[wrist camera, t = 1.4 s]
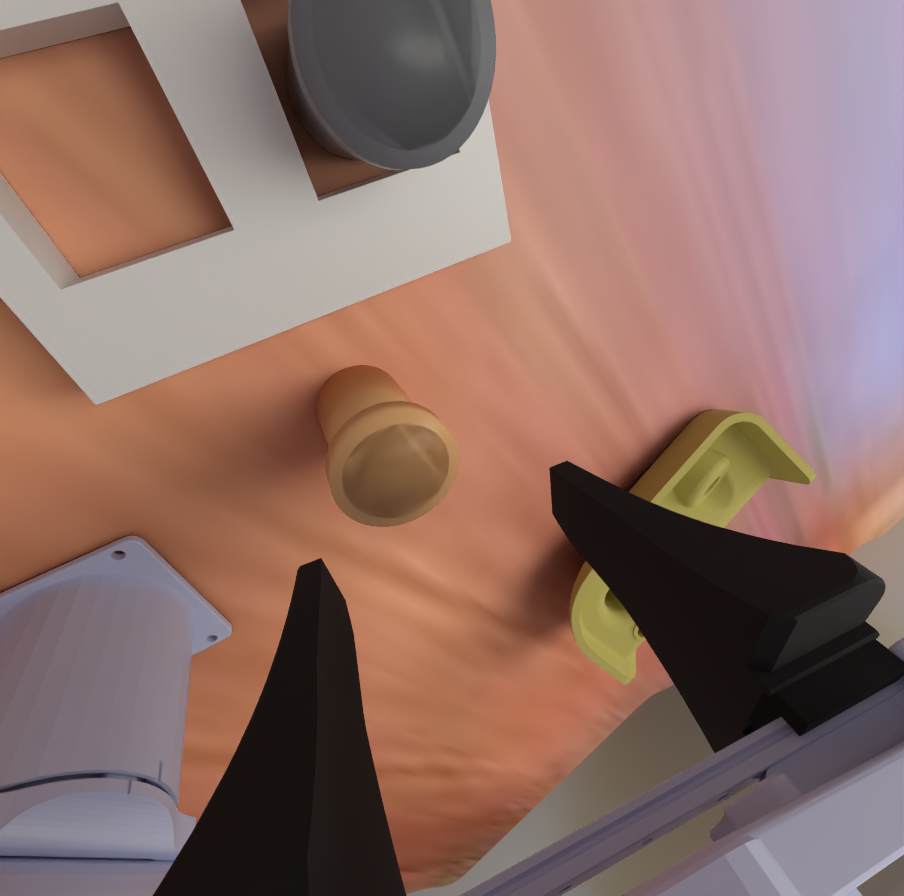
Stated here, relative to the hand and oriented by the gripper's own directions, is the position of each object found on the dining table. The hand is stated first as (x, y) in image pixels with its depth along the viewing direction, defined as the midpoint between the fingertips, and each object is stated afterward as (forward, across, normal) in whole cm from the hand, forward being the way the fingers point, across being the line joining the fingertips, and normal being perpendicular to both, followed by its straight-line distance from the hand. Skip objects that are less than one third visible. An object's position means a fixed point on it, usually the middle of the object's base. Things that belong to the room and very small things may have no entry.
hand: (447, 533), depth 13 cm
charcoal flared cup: (+10, -2, -11) cm, 15 cm away
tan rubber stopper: (+10, +1, 0) cm, 10 cm away
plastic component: (+11, -17, +18) cm, 27 cm away
